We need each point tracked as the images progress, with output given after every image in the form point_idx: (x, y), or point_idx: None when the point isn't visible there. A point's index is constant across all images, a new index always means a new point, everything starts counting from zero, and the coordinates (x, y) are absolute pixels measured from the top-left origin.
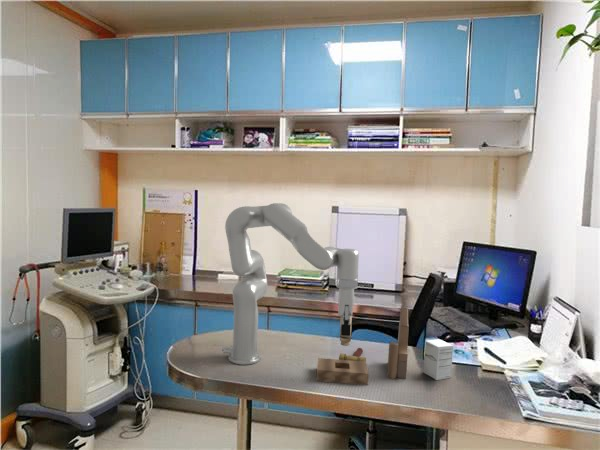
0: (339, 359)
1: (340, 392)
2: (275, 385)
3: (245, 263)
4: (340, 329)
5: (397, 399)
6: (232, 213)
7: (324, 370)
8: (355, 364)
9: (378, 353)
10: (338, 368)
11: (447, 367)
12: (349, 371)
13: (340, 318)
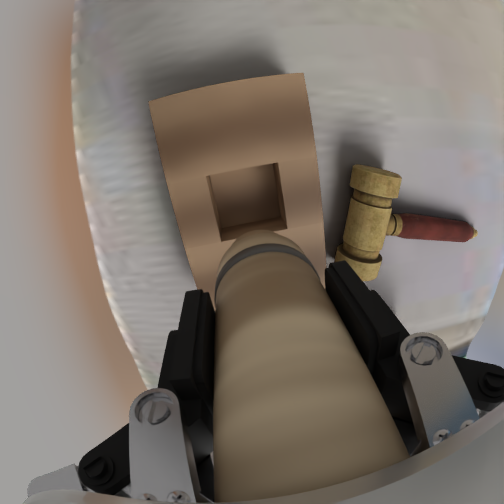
0: (359, 171)
1: (108, 214)
2: (84, 4)
3: None
4: (246, 295)
5: (155, 357)
6: None
7: (155, 134)
8: None
9: (453, 281)
10: (205, 192)
11: None
12: (192, 244)
13: (302, 404)
